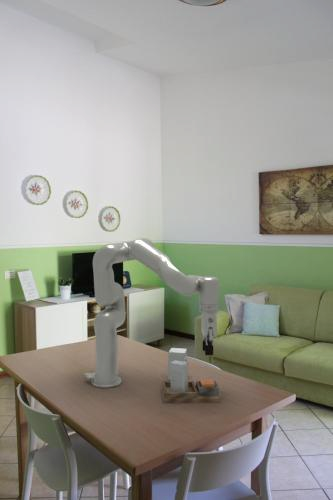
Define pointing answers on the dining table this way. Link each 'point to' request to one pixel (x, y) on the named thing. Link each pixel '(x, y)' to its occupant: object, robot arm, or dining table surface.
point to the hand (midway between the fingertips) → (207, 352)
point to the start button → (207, 383)
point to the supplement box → (176, 357)
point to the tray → (190, 393)
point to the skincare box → (179, 376)
